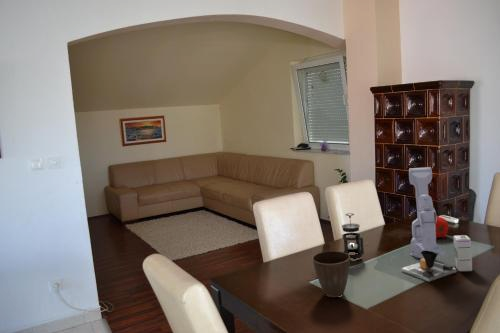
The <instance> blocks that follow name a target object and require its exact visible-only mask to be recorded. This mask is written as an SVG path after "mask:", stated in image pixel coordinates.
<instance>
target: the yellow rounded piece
mask: <svg viewBox="0 0 500 333" xmlns="http://www.w3.org/2000/svg"><path fill="white" fill-rule="evenodd" d="M419 262H420V267H421V268H424V269H427V268H428V267H427V264H426V261H425V259H424V258H423V259H421V258H419Z"/></svg>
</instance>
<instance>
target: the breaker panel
mask: <svg viewBox="0 0 500 333" xmlns="http://www.w3.org/2000/svg"><path fill="white" fill-rule="evenodd" d="M400 270H401V273H405V274H407V275H410V276H412V277H415V278H418V279H420V280H423V281H425V282H428V283H429V282H432V281H435V280H437V279H440V278H444V277H447V276H449V275H452V274H455V273H457V272H458V269H457V268H456V267H454V266H453V265H451V264H448V263H446V264H443V263H441V262H437V261H434V265H433V267H432V268H427V269H424V268H421V267H420V261H419V262H417V263H414V264H410V265H407V266H404V267H401V269H400Z"/></svg>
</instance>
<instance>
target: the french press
mask: <svg viewBox="0 0 500 333" xmlns="http://www.w3.org/2000/svg"><path fill="white" fill-rule="evenodd" d="M354 215H355V214H354V213H351V212H349V213H345V216H348V218H349V223H344V224H341V228H342V231H343V232H345V233H343V234H342V235H341V236H342V240H343V248H344V251H343V252H344V253H347V254H348V253H349V252H355V253H358V254H355V255H349V254H348V255H349V256H350V258H353V259H356V258H360V257H363V256H364V254H365V253H364V252H365V251H364V238H363V237H362V236H361V233H358V231H360V226H361V225H360V224H359V223H353V222H352V220H351V218H352V216H354ZM351 222H352V223H351ZM348 236H350V237H348ZM353 236H355V237H353ZM348 241H350V243H348ZM353 241H355V243H353Z"/></svg>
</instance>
